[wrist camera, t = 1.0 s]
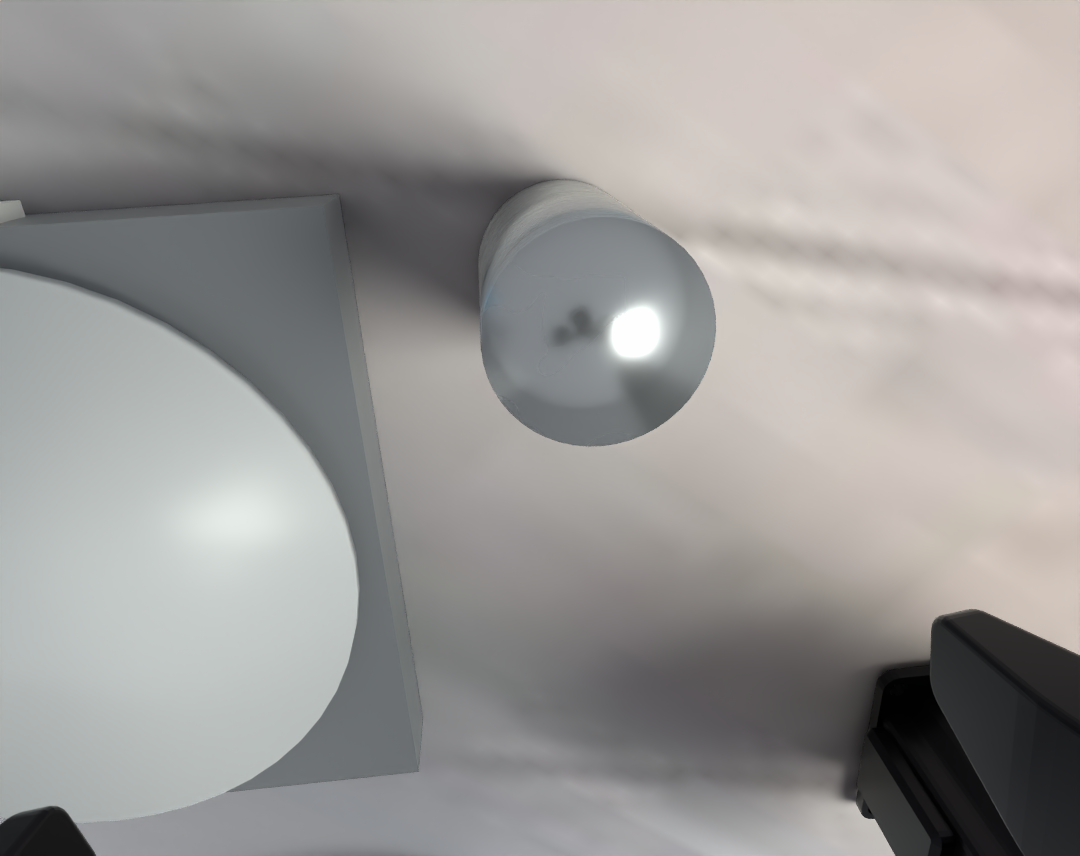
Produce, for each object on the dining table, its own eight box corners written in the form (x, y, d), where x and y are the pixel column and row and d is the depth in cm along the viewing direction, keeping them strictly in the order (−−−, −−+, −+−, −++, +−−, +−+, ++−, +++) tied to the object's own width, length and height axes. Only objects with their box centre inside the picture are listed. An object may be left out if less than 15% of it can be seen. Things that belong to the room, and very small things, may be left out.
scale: (334, 166, 17) (307, 179, 14) (422, 719, 23) (416, 801, 21) (-425, 214, 16) (-615, 239, 13) (-103, 773, 22) (-182, 866, 20)
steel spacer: (642, 174, 17) (721, 209, 12) (641, 338, 19) (710, 436, 13) (470, 185, 17) (469, 226, 11) (485, 350, 19) (490, 455, 13)
